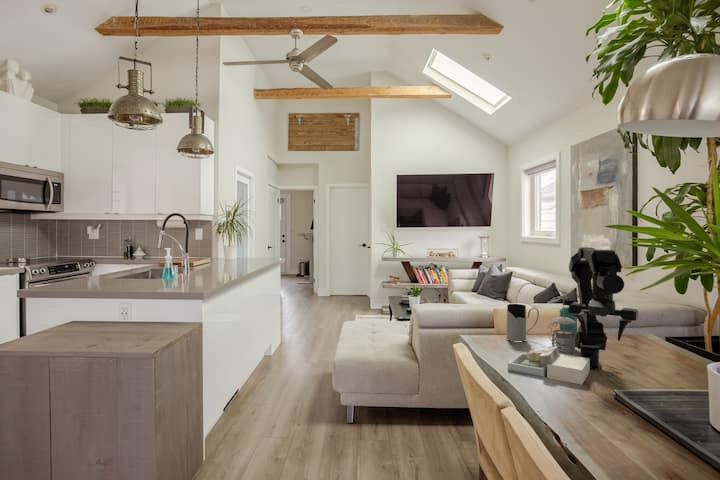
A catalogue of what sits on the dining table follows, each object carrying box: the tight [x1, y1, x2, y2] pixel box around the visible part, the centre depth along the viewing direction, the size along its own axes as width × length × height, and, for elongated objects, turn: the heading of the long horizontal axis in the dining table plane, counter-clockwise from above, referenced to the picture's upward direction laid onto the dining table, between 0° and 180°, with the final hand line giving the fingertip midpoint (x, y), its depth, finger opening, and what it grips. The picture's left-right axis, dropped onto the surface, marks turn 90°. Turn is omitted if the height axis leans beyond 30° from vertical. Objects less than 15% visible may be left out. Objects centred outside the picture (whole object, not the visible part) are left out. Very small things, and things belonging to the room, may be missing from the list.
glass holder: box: [505, 303, 540, 341], centre depth 183 cm, size 9×14×15 cm, turn 93°
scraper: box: [526, 345, 559, 364], centre depth 143 cm, size 14×2×8 cm
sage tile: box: [522, 360, 539, 368], centre depth 141 cm, size 4×4×2 cm
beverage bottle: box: [558, 298, 579, 348], centre depth 167 cm, size 6×7×20 cm
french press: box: [547, 290, 576, 356], centre depth 157 cm, size 10×12×25 cm
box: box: [507, 352, 547, 378], centre depth 145 cm, size 15×12×2 cm
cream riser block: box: [546, 354, 591, 386], centre depth 138 cm, size 15×10×4 cm, turn 144°
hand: (602, 338), depth 133 cm, fingers open, 9 cm apart
